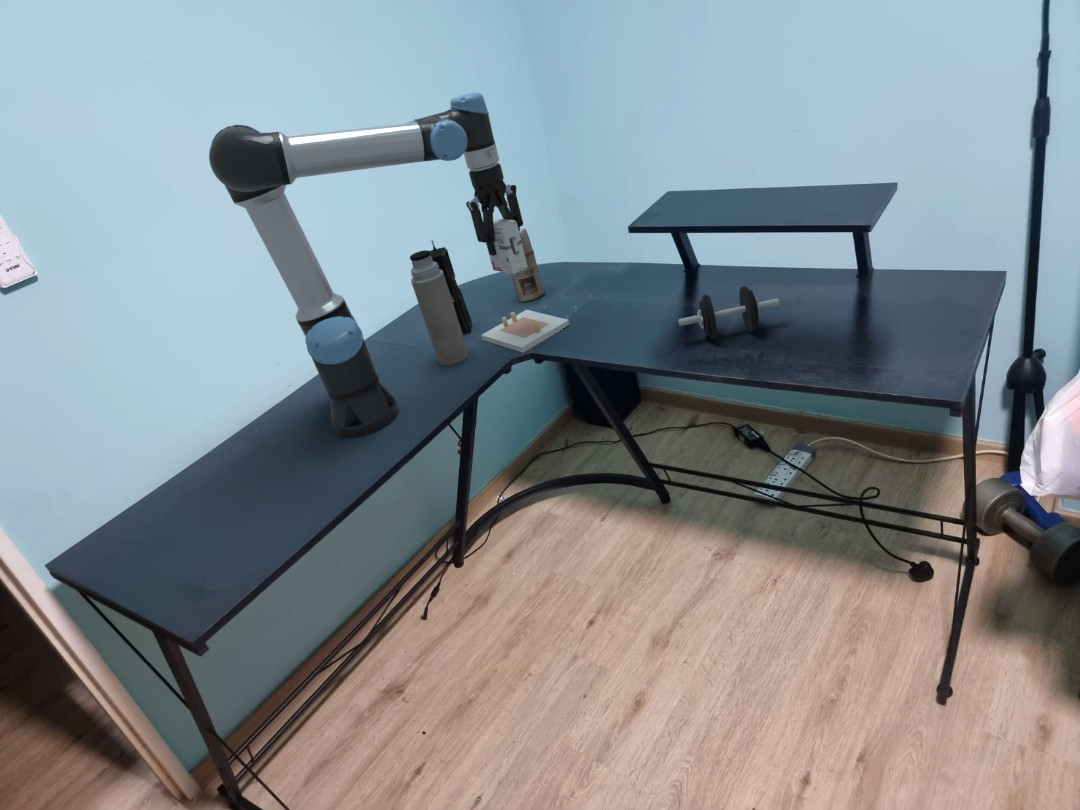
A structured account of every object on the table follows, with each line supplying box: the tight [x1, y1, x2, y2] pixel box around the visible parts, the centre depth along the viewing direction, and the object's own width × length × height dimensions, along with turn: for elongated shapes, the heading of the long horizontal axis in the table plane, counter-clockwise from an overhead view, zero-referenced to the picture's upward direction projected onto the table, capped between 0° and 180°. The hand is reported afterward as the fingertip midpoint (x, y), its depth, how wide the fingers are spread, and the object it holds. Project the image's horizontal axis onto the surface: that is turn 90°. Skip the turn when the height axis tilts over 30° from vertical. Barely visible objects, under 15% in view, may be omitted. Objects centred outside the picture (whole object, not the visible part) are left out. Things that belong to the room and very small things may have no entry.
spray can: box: [509, 227, 545, 302], centre depth 200 cm, size 8×8×20 cm
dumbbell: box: [677, 285, 780, 340], centre depth 155 cm, size 22×10×10 cm, turn 89°
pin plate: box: [481, 309, 570, 354], centre depth 182 cm, size 16×17×4 cm
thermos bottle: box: [409, 249, 469, 366], centre depth 174 cm, size 8×8×28 cm
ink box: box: [485, 218, 528, 275], centre depth 171 cm, size 9×5×12 cm, turn 41°
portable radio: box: [429, 240, 473, 335], centre depth 188 cm, size 8×6×25 cm
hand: (508, 262), depth 173 cm, fingers closed on ink box, 5 cm apart
